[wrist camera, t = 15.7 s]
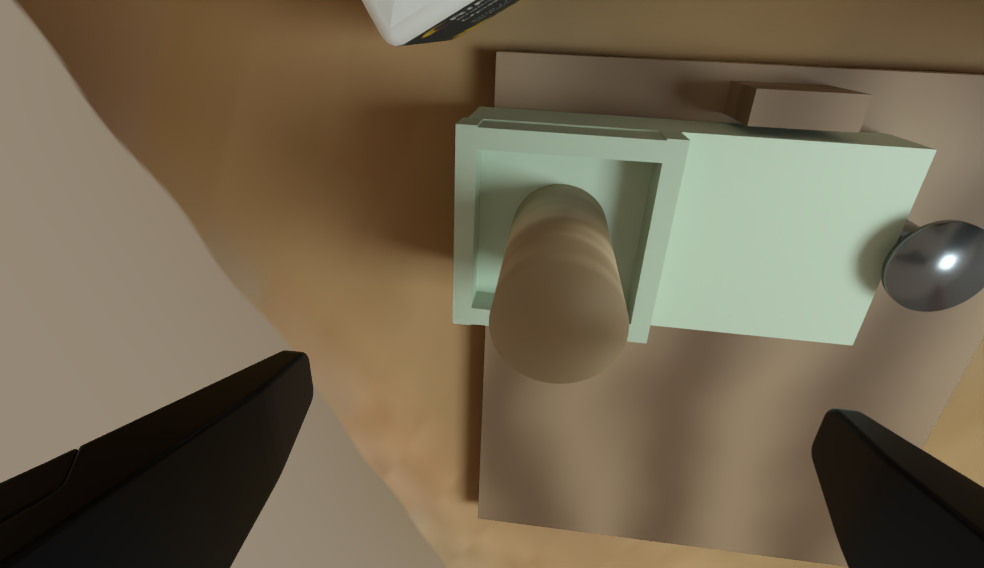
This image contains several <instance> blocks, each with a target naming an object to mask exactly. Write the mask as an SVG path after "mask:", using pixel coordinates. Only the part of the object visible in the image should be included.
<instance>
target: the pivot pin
mask: <svg viewBox="0 0 984 568" xmlns="http://www.w3.org/2000/svg"><path fill="white" fill-rule="evenodd" d="M881 280H882V285H883V288H884V289H885V291H886V293H887V294H888V295H889V296H890V297H891V298H892V299H894V300H895V301H896V302H897V303H898V304H900V305H901V306H903V307H905V308H908V309H910V310H914V311H920V312H933V311H940V310H945V309H949V308H951V307H954V306H957V305H959V304H961V303H963V302H965V301H967V300H969V299H970V298H972V297H973V296H974V295H976V294H977V293H978V292H979V291H981V290H982V289H983V288H984V229H982V228H980V227H978V226H976V225H974V224H971V223H969V222H965V221H961V220H941V221H936V222H932V223H929V224H926V225H923V226H921V227H920V226H918V225H917V224H915V223H913V222H911V221H909V220H908V219H907V220H906V223H905V225H904V227H903V230H902V232H901V234H900V237H899V239H898V241H897V243H896V244H895V245H894V246H893V248H892V249H891V250H890V252H889V253H888V255H887V256H886V258H885V260H884V263H883V266H882V271H881Z"/></svg>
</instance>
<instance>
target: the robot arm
mask: <svg viewBox="0 0 984 568" xmlns="http://www.w3.org/2000/svg"><path fill="white" fill-rule="evenodd" d="M312 398H313V384H312V377H311V370H310V363H309V358H308V356H307V355H306V354H305V353H304V352H296V351H282V352H279V353H277V354H275V355H273V356H271V357H268V358H267V359H264V360H262V361H260V362H258V363H256V364H254V365H252V366H249V367H247V368H245V369H243V370H241V371H239V372H237V373H235V374H233V375H230V376H229V377H226V378H224V379H222V380H220V381H218V382H215V383H213V384H211V385H209V386H207V387H205V388H203V389H201V390H199V391H196V392H194V393H192V394H190V395H188V396H186V397H184V398H182V399H179V400H177V401H175V402H173V403H171V404H169V405H167V406H165V407H162V408H160V409H158V410H156V411H154V412H152V413H150V414H148V415H145V416H143V417H141V418H139V419H137V420H135V421H133V422H131V423H129V424H127V425H124V426H122V427H120V428H118V429H116V430H114V431H112V432H109V433H107V434H105V435H103V436H101V437H99V438H97V439H95V440H93V441H90V442H88V443H86V444H84V445H82V446H80V448H79V450H77V449H73V450H71V451H69V452H67V453H65V454H63V455H61V456H58V457H56V458H54V459H52V460H50V461H48V462H46V463H44V464H41V465H39V466H37V467H35V468H33V469H30V470H28V471H26V472H24V473H22V474H19V475H17V476H15V477H13V478H11V479H8V480H6V481H4V482H2V483H0V568H230V567H231V565H232V563H233V561H234V559H235V558H236V556H237V554H238V552H239V550H240V548H241V547H242V545H243V543H244V541H245V539H246V538H247V536H248V534H249V532H250V530H251V529H252V527H253V525H254V523H255V521H256V520H257V518H258V516H259V514H260V512H261V510H262V508H263V507H264V505H265V503H266V501H267V500H268V498H269V496H270V494H271V492H272V490H273V489H274V487H275V485H276V483H277V481H278V479H279V477H280V475H281V473H282V471H283V469H284V466H285V464H286V462H287V459H288V457H289V454H290V452H291V450H292V447H293V445H294V443H295V440H296V438H297V435H298V433H299V430H300V428H301V425H302V423H303V421H304V418H305V416H306V414H307V411H308V408H309V406H310V404H311V401H312ZM811 455H812V461H813V464H814V467H815V470H816V473H817V477H818V480H819V483H820V486H821V489H822V493H823V496H824V499H825V502H826V505H827V509H828V512H829V515H830V518H831V521H832V524H833V528H834V531H835V534H836V537H837V540H838V542H839V545H840V548H841V550H842V553H843V555H844V558H845V560H846V563H847V565H848V567H849V568H984V487H982V486H980V485H979V484H977V483H975V482H974V481H972V480H971V479H969V478H967V477H966V476H964V475H962V474H961V473H959V472H958V471H956V470H954V469H953V468H951V467H949V466H948V465H946V464H945V463H943V462H941V461H940V460H938V459H936V458H935V457H933V456H931V455H930V454H928V453H927V452H925V451H923V450H922V449H920V448H918V447H917V446H915V445H914V444H912V443H910V442H909V441H907V440H905V439H904V438H902V437H901V436H899V435H897V434H896V433H894V432H892V431H891V430H889V429H888V428H886V427H884V426H883V425H881V424H879V423H878V422H876V421H874V420H873V419H871V418H870V417H868V416H866V415H865V414H863V413H861V412H859V411H856V410H850V409H840V408H832V409H829V410H828V411H827V412H826V414H825V415H824V418H823V420H822V422H821V425H820V427H819V429H818V432H817V434H816V436H815V439H814V441H813V444H812V449H811Z"/></svg>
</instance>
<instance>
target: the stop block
mask: <svg viewBox="0 0 984 568" xmlns="http://www.w3.org/2000/svg"><path fill="white" fill-rule="evenodd" d="M871 97H872V95H871V94H867V93H862V92H858V91H853V90H848V89H844V88H839V87H835V86H826V85H807V84H788V83H768V82H749V81H731V84H730V88H729V93H728V97H727V101H726V106H725V110H724V114H726V115H727V116H729V117H731V118H733V119H735V120H737V121H739V122H741V123H742V124H744V125H746V126H754V127H771V128H788V129H804V130H821V131H838V132H855V133H859V132H860V129H861V126H862V123H863V120H864V117H865V114H866V112H867V109H868V106H869V103H870V100H871Z"/></svg>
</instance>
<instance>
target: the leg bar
mask: <svg viewBox="0 0 984 568" xmlns="http://www.w3.org/2000/svg"><path fill="white" fill-rule="evenodd" d="M936 151H937V149H933V148H930V147H927V146H924V145H921V144H918V143H915V142H912V141H909V140H906V139H903V138H900V137H897V136H894V135H891V134H886V133H871V132H859V133H855V132H838V131H821V130H804V129H788V128H771V127H754V126H746V125H744V124H736V123H721V122H706V121H691V120H676V119H661V118H646V117H631V116H615V115H600V114H585V113H570V112H555V111H540V110H525V109H510V108H495V107H480V106H479V107H478V108H477V109H476V110H475V111H474V112H473V113H472V114H471V115H470V116H469V117H468V118H467V117H463V118H462V119H461V120H459V121H458V122H457V123H456V131H455V200H454V270H453V324H463V325H471V324H475V325H485V326H489V315H490V310H491V306H492V302H493V298H494V294H495V290H496V286H497V282H498V278H499V274H500V270H501V266H502V262H503V258H504V255H505V251H506V247H507V243H508V239H509V235H510V231H511V227H512V223H513V219H514V215H515V213H516V211H517V209H518V207H519V205H520V204H521V203H522V201H523V200H524V199H525V198H526V197H527V196H528V195H530V194H531V193H532V192H534V191H536V190H538V189H540V188H542V187H545V186H549V185H554V184H566V185H572V186H576V187H578V188H581V189H583V190H585V191H586V192H588V193H589V194H591V195H592V196H593V197H594V198H595V199H596V200H597V201H598V203H599V204H600V205H601V207H602V209H603V211H604V214H605V216H606V221H607V225H608V229H609V234H610V238H611V242H612V247H613V251H614V255H615V260H616V264H617V268H618V273H619V277H620V281H621V286H622V290H623V294H624V299H625V303H626V307H627V312H628V316H629V333H628V338H627V342H637V343H647V339H648V334H649V329H650V325H653V326H663V327H673V328H683V329H693V330H703V331H713V332H723V333H732V334H742V335H752V336H762V337H772V338H782V339H792V340H802V341H812V342H822V343H832V344H842V345H852V346H853V343H854V341H855V339H856V337H857V334H858V332H859V330H860V327H861V325H862V323H863V320H864V318H865V316H866V313H867V311H868V309H869V306H870V304H871V302H872V299H873V297H874V295H875V292H876V290H877V288H878V285H879V283H880V281H881V271H882V266H883V263H884V260H885V258H886V256H887V255H888V253H889V252H890V250H891V249H892V248H893V246H894V245H895V244H896V243H897V241H898V239H899V237H900V234H901V232H902V230H903V227H904V225H905V223H906V220H907V218H908V216H909V213H910V211H911V209H912V207H913V204H914V202H915V200H916V197H917V195H918V193H919V190H920V188H921V186H922V183H923V181H924V179H925V176H926V174H927V172H928V169H929V167H930V165H931V162H932V160H933V158H934V155H935V153H936Z"/></svg>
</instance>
